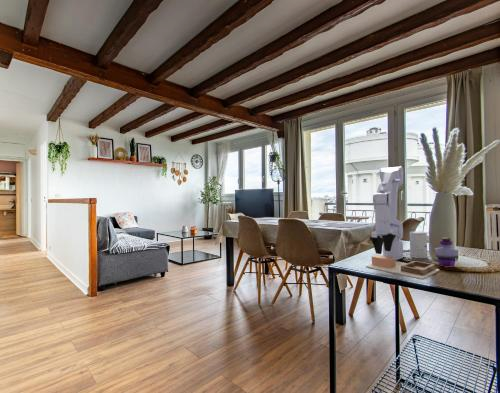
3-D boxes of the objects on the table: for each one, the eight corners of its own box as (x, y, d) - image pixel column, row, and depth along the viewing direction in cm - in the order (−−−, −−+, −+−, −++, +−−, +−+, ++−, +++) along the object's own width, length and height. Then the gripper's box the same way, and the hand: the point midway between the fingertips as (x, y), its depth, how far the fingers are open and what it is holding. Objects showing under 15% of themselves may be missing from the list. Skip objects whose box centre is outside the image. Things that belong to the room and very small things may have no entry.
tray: (414, 265, 116) (414, 260, 116) (435, 269, 110) (435, 264, 110) (400, 271, 109) (400, 266, 109) (422, 275, 103) (422, 270, 103)
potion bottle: (464, 269, 110) (463, 239, 110) (440, 268, 112) (439, 239, 112) (452, 263, 119) (452, 236, 119) (430, 263, 120) (430, 236, 120)
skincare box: (416, 258, 129) (415, 233, 128) (409, 256, 133) (408, 231, 133) (428, 257, 130) (427, 232, 129) (421, 255, 134) (420, 230, 134)
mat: (385, 260, 127) (385, 259, 127) (439, 270, 110) (439, 269, 110) (366, 267, 118) (366, 265, 118) (422, 279, 100) (422, 277, 100)
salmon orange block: (377, 262, 122) (377, 254, 122) (395, 266, 116) (395, 258, 116) (371, 264, 120) (371, 256, 120) (390, 268, 113) (390, 259, 113)
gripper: (382, 222, 110) (383, 256, 110) (400, 219, 118) (400, 251, 119) (366, 221, 116) (367, 253, 116) (384, 218, 124) (384, 248, 124)
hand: (383, 252), depth 118 cm, fingers open, 7 cm apart
